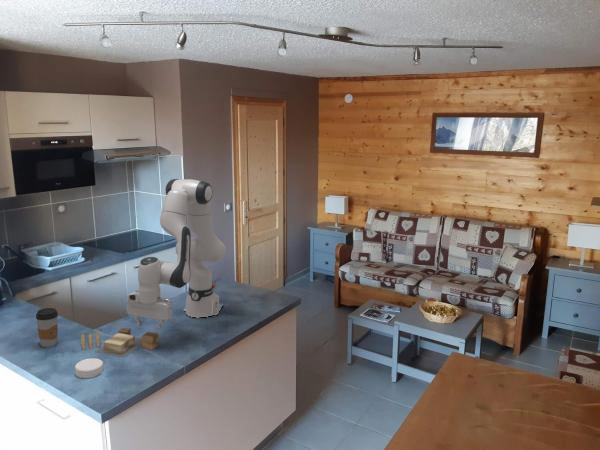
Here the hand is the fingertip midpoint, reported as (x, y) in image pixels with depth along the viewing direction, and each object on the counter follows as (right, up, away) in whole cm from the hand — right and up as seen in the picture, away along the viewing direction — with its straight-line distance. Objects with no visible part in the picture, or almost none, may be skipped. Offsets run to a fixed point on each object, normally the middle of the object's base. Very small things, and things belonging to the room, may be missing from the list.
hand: (149, 327), depth 207 cm
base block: (-13, -9, 0) cm, 15 cm away
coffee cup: (-43, -8, +1) cm, 44 cm away
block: (-14, -7, +9) cm, 17 cm away
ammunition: (-25, -9, +1) cm, 27 cm away
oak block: (0, -9, +2) cm, 10 cm away
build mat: (-12, -9, +2) cm, 15 cm away
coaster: (-17, -14, -19) cm, 29 cm away
